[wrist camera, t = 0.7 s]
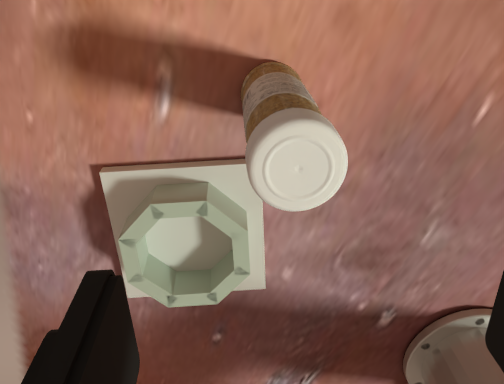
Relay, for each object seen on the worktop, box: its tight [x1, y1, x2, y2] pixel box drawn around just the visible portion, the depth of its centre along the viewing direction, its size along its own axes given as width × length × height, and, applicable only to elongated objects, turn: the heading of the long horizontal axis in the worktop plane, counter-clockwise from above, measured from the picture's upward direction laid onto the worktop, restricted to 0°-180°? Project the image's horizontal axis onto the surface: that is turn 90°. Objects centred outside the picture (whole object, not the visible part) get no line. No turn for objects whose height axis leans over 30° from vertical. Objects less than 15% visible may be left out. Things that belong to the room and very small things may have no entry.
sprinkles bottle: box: [241, 62, 348, 211], centre depth 25 cm, size 5×5×13 cm
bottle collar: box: [99, 159, 266, 307], centre depth 34 cm, size 12×12×4 cm
